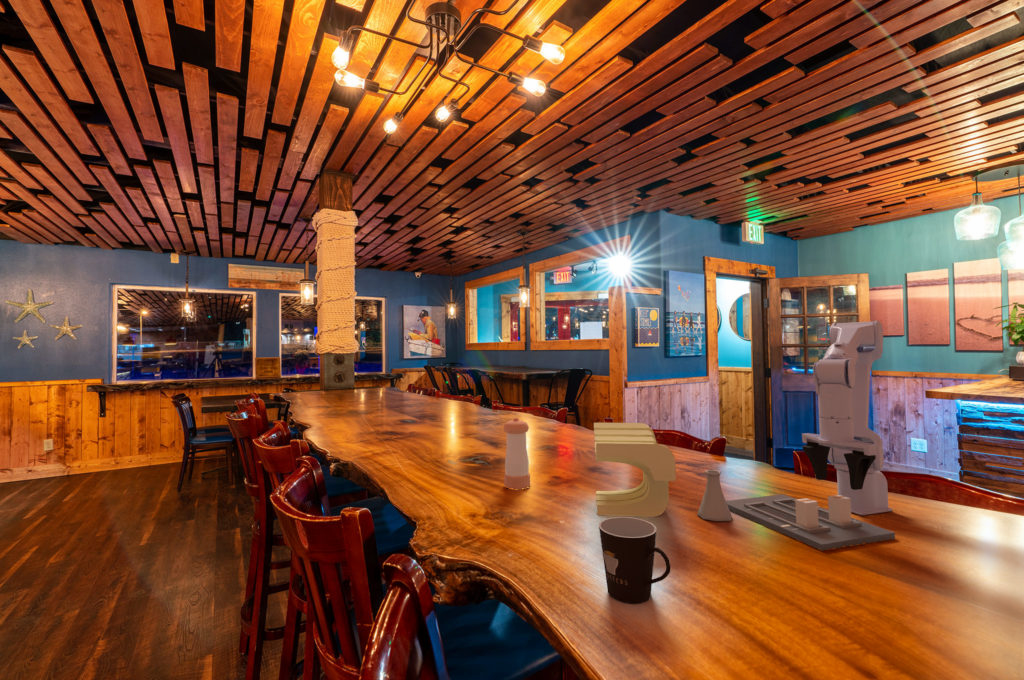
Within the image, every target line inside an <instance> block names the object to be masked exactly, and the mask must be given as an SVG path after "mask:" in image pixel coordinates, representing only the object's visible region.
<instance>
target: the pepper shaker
mask: <svg viewBox="0 0 1024 680" xmlns="http://www.w3.org/2000/svg"><path fill="white" fill-rule="evenodd" d="M529 429H530V427H529V424H528V422H526V421H524V420H521V419H519V417H514V418H513V419H512V420H509V421H506V422H505V424H504V426H503V430H504V432H505V433H506V450H505V460H504V469H505V470H504V471H505V473H504V474H503V484H504V485H505V486H506V487H508V488H513V489H522V488H527V487H529V486H530V487H531V473H530V472H529V469H530V468H529V465H530V464H529V463H530V462H529V456H528V455H529V454H528V450H527V433H528V431H529ZM504 485H503V486H504Z"/></svg>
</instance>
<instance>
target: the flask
mask: <svg viewBox="0 0 1024 680" xmlns="http://www.w3.org/2000/svg"><path fill="white" fill-rule="evenodd" d="M705 475H706V486H705V491H704V493H703V496H702V500H701V502H700V506H699V507H698V511H697V516H699V517H700V518H702V519H703V520H707V521H713V522H728V521H729V522H730V521H732V518H733V517H732V513H731V511H730V510H729V508H728V505H727V503H726V501H727V500H726V498H725V496H724V493H723V490H722V486H721V480H720V476H721V471H720V470H716V469H715V470H714V469H706V470H705Z"/></svg>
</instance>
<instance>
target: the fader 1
mask: <svg viewBox="0 0 1024 680" xmlns="http://www.w3.org/2000/svg"><path fill="white" fill-rule="evenodd" d="M795 499H796V500H795V506H796V524H797V525H799V526H802V527H804V528H807V529H809V528H816V527H819V523H818V505H819V503H818V501H817V500H814V499H812V498H811V499H810V498H806V497H805V498H799V499H797V498H795Z"/></svg>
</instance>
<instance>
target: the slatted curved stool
mask: <svg viewBox="0 0 1024 680" xmlns="http://www.w3.org/2000/svg"><path fill="white" fill-rule="evenodd" d="M654 432H655V431H653V429H652V427H650V426H649V425H648V424H646V423H643V422H593V434H594V435H593V438H594V453H595V461H596V462H606V463H607V462H608V463H611V462H612V463H619V464H625V465H630V466H634V467H636V468H638V469H640V470H641V471H642V476H643V477H642V478H643V479H642V482H641V483H640V484H639V485H638V486H636V487H633V488H631V489H623V490H596V491H595V500H596V514H597V516H615V517H643V518H644V517H645V518H646V517H647V518H653V517H654V518H655V517H659V516H660V515H662V514H663V513H664V512H665V511H666V509H667V508H668V505H669V491H670V490H669V487H670V486H669V483H670V482H676V481H677V477H676V476H677V475H676V469H677V467H676V466H677V465H676V458H675V455H674V453H673V452H672V450H671V449H670V448H669V447H668V446H666V445H665V444H659V443H658V442H657V438H656V435H655V433H654Z"/></svg>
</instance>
